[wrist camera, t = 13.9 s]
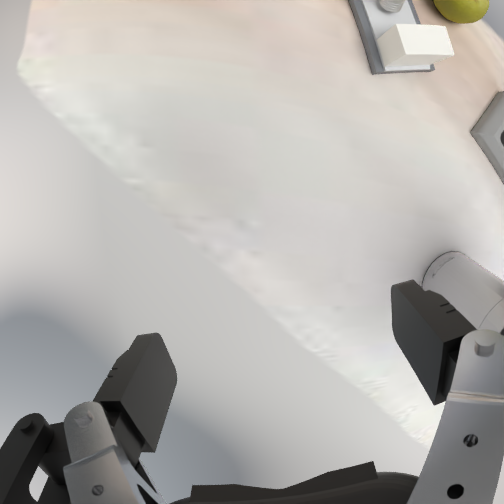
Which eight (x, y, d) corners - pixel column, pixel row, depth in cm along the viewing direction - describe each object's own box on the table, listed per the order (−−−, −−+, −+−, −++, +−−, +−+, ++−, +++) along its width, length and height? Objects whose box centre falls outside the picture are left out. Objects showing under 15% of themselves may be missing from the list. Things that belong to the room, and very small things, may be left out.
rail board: (429, 71, 31) (436, 69, 29) (372, 74, 32) (378, 71, 30) (389, -36, 26) (394, -42, 24) (333, -37, 27) (336, -44, 25)
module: (431, 65, 29) (456, 55, 23) (384, 66, 30) (405, 54, 24) (423, 39, 28) (447, 26, 22) (376, 39, 29) (395, 23, 23)
